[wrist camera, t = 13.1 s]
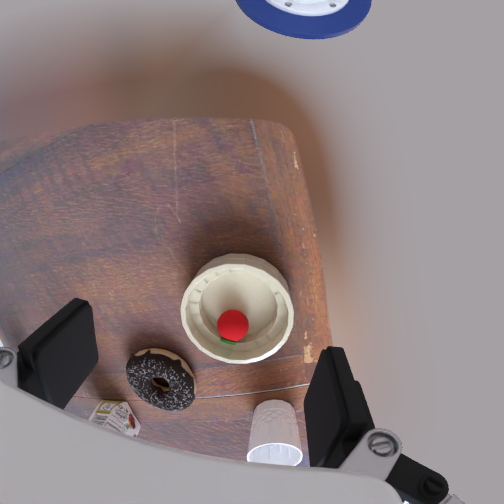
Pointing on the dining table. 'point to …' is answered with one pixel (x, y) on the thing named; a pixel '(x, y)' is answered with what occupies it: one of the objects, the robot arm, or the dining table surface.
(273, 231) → the dining table surface
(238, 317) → the tomato
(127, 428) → the juice carton
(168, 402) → the donut
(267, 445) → the white cup
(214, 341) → the bowl
